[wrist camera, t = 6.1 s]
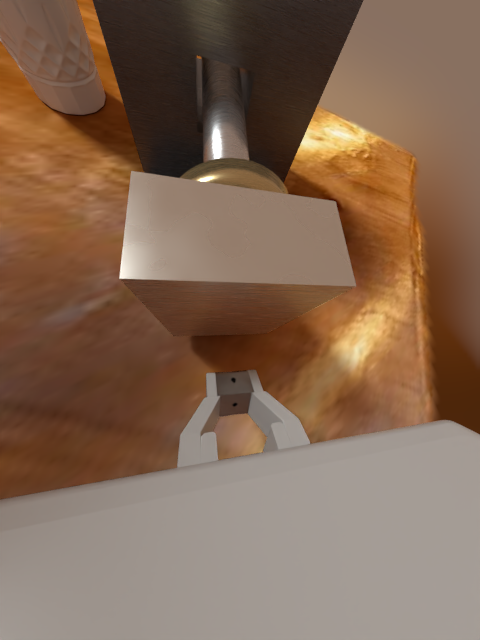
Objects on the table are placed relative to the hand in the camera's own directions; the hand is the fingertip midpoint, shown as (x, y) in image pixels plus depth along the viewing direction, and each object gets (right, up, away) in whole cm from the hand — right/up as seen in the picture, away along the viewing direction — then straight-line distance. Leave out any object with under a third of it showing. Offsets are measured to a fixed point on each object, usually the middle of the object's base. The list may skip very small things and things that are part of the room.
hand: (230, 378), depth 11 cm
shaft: (-2, +13, +7) cm, 15 cm away
